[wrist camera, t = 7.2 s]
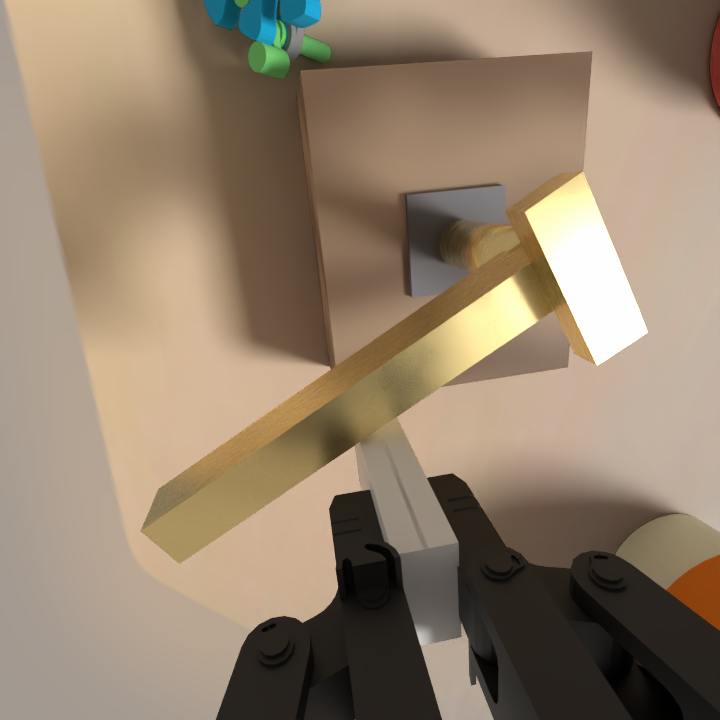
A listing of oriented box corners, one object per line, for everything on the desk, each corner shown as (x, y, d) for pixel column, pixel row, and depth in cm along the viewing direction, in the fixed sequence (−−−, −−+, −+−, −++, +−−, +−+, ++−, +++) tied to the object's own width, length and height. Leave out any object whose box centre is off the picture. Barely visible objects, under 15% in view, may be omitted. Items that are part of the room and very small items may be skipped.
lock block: (296, 98, 22) (300, 68, 17) (529, 81, 23) (597, 49, 18) (329, 366, 27) (341, 405, 22) (520, 339, 28) (571, 369, 23)
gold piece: (453, 180, 19) (590, 166, 10) (503, 275, 20) (653, 327, 12) (166, 384, 20) (83, 519, 11) (237, 457, 21) (210, 621, 13)
